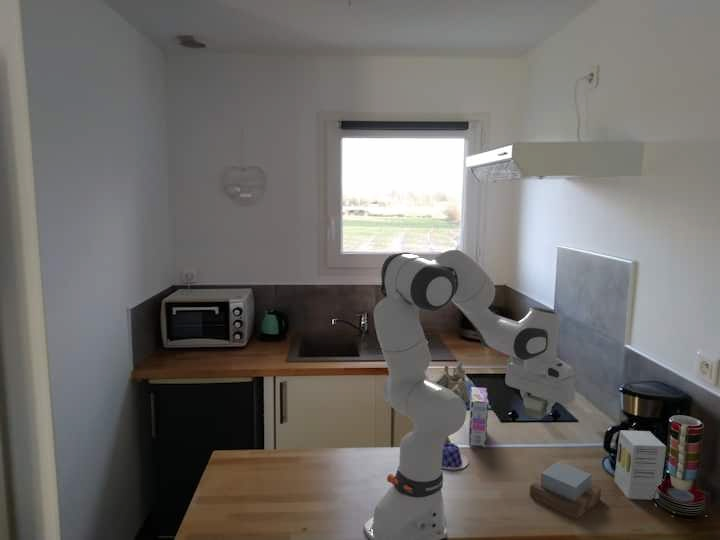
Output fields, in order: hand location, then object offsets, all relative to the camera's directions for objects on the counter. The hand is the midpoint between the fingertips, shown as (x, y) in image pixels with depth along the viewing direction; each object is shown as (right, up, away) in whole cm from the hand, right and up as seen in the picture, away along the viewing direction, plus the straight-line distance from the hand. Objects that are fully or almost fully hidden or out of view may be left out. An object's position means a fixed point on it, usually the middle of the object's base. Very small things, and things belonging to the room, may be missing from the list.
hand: (536, 408), depth 150 cm
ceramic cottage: (-13, -14, +69) cm, 72 cm away
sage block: (0, -2, 0) cm, 2 cm away
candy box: (-10, -20, +34) cm, 41 cm away
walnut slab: (+8, -26, -1) cm, 27 cm away
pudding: (-22, -22, +18) cm, 37 cm away
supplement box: (+31, -25, +3) cm, 40 cm away
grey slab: (+8, -22, -1) cm, 23 cm away
